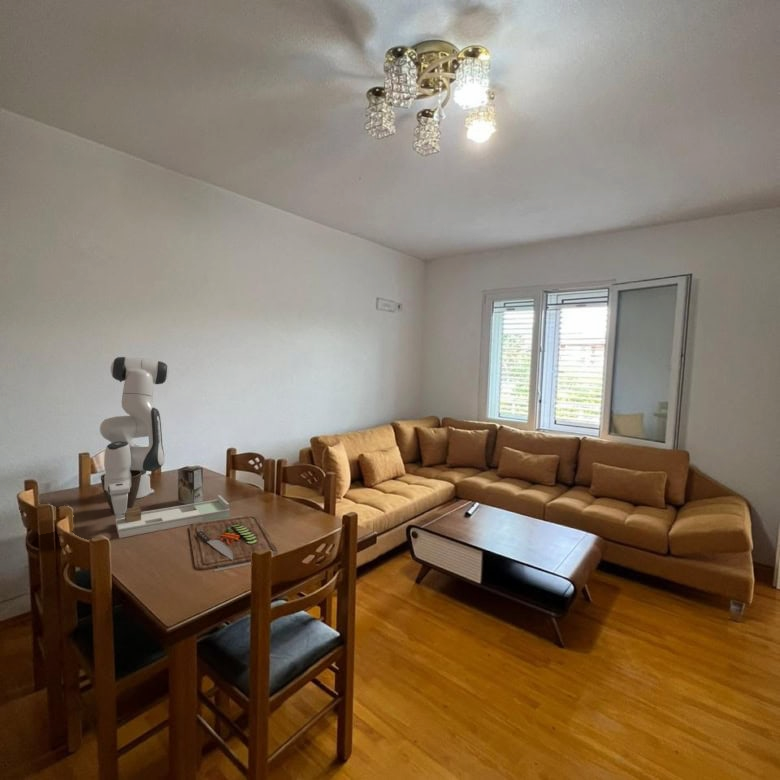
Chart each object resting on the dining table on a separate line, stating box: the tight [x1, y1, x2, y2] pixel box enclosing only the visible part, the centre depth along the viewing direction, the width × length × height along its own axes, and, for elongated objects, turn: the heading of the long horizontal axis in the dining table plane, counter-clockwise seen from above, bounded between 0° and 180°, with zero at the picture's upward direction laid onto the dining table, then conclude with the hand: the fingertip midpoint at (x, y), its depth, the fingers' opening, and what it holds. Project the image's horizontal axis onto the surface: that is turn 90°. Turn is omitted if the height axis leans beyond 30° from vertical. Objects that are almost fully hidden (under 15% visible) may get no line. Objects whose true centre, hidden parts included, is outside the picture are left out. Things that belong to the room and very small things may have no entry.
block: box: [124, 506, 142, 523], centre depth 167 cm, size 5×5×4 cm
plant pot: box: [100, 470, 141, 513], centre depth 182 cm, size 15×15×16 cm
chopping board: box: [188, 515, 279, 573], centre depth 157 cm, size 45×27×3 cm, turn 29°
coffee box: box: [177, 466, 204, 505], centre depth 196 cm, size 9×6×16 cm
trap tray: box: [114, 494, 231, 539], centre depth 173 cm, size 16×40×5 cm, turn 128°
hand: (118, 518), depth 164 cm, fingers closed
